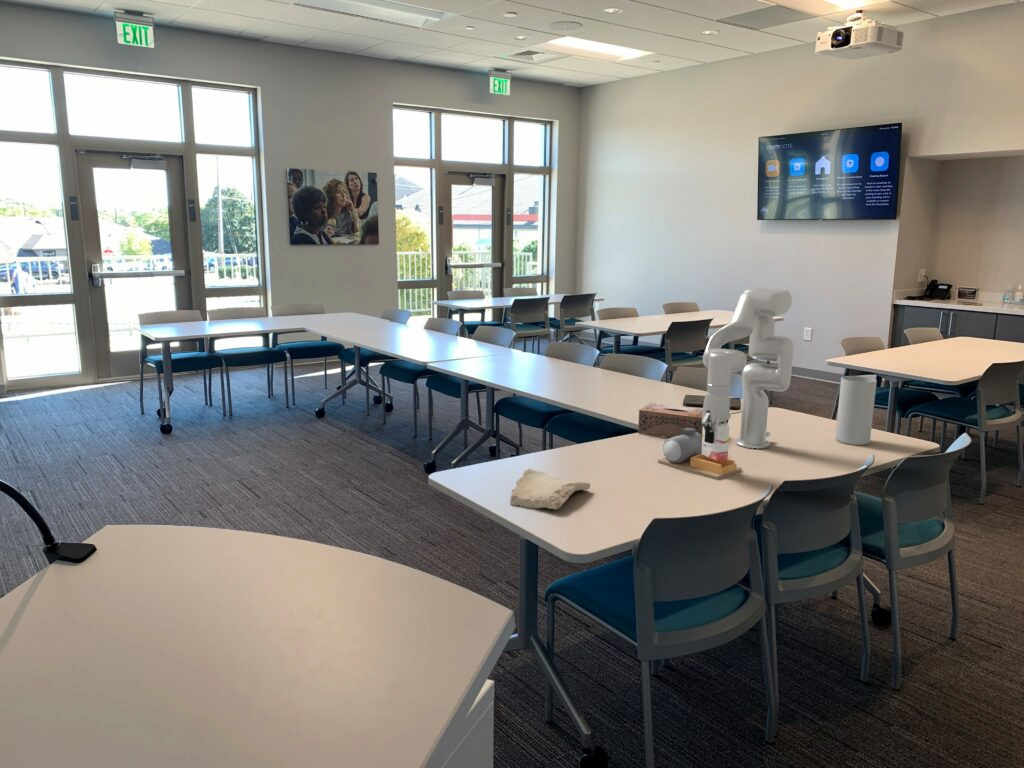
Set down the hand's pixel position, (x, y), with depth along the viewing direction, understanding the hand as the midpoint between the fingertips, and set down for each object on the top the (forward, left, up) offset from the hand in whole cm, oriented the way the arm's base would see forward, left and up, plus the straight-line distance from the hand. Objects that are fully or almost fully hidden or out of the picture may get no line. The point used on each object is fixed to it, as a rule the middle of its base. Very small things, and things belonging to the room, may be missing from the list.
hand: (714, 440), depth 256 cm
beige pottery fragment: (+62, -19, -11) cm, 65 cm away
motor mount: (0, -6, -11) cm, 12 cm away
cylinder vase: (-75, +14, -11) cm, 77 cm away
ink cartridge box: (0, 0, -6) cm, 6 cm away
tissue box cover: (-30, -38, -11) cm, 49 cm away
